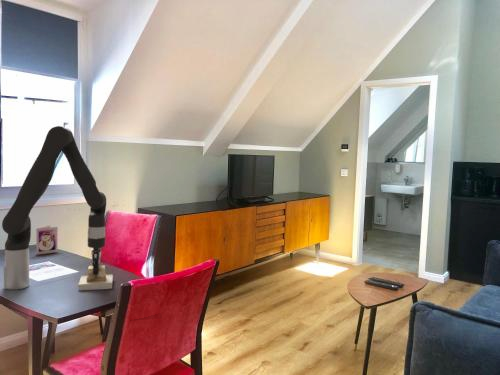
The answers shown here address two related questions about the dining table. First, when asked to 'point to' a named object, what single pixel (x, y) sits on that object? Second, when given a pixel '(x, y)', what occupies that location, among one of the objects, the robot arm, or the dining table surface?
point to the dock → (95, 283)
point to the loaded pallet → (95, 278)
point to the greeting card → (46, 240)
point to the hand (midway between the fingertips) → (96, 272)
